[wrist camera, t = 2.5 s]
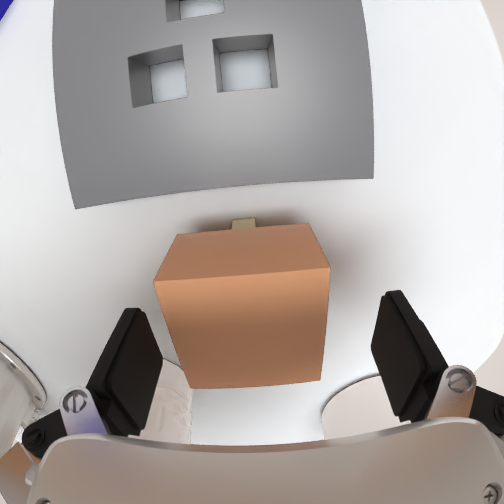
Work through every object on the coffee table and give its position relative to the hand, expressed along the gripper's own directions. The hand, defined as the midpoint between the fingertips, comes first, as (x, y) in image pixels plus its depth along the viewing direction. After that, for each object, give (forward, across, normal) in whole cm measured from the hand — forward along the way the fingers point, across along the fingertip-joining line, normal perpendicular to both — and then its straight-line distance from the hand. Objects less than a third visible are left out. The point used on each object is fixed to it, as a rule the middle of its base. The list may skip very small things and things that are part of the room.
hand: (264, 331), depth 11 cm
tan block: (+7, +1, 0) cm, 7 cm away
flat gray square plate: (+7, +2, -12) cm, 14 cm away
